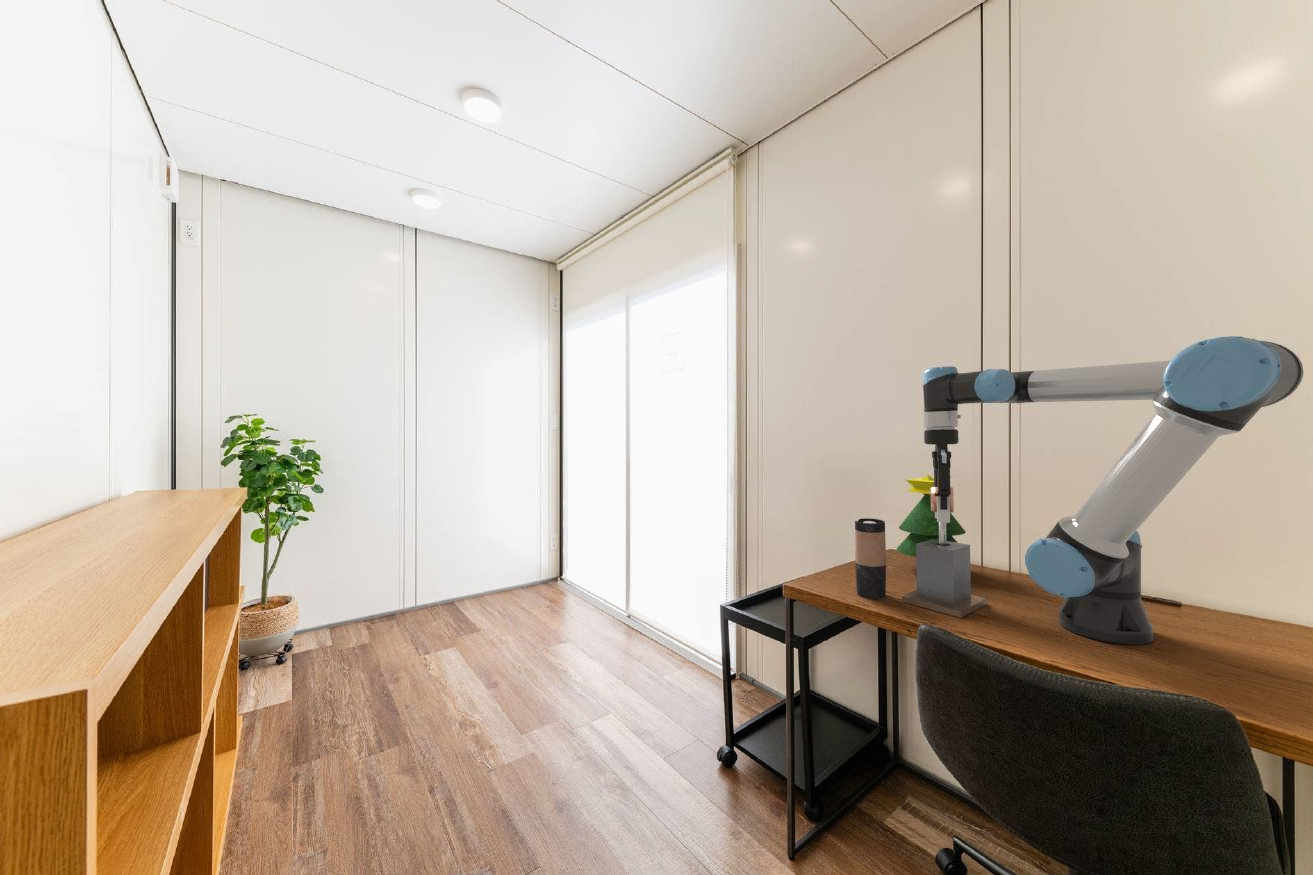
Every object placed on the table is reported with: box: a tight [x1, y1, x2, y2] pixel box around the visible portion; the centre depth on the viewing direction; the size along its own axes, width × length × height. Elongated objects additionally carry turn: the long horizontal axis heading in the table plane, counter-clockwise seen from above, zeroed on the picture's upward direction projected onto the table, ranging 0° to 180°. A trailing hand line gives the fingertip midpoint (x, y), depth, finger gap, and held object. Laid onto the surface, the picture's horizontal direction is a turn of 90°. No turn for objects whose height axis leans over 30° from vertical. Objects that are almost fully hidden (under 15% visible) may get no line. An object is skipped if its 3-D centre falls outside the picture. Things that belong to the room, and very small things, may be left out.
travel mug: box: [854, 517, 887, 600], centre depth 133 cm, size 8×8×20 cm
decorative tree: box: [896, 474, 967, 558], centre depth 152 cm, size 19×19×30 cm
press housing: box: [901, 539, 987, 619], centre depth 125 cm, size 14×14×15 cm
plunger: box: [931, 486, 955, 546], centre depth 125 cm, size 5×5×21 cm
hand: (942, 519), depth 125 cm, fingers closed on plunger, 5 cm apart
